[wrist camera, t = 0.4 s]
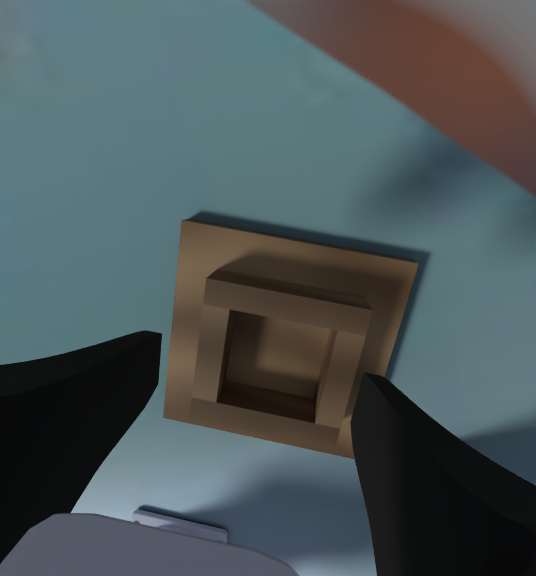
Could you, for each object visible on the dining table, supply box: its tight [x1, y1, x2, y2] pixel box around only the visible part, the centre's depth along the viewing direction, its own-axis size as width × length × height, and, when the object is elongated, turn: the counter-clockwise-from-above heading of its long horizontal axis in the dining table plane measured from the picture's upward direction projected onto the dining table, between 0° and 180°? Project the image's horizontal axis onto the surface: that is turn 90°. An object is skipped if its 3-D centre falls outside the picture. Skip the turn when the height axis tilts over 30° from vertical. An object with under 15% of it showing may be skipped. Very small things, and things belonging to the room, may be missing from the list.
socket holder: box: [163, 219, 419, 459], centre depth 20 cm, size 14×14×4 cm
